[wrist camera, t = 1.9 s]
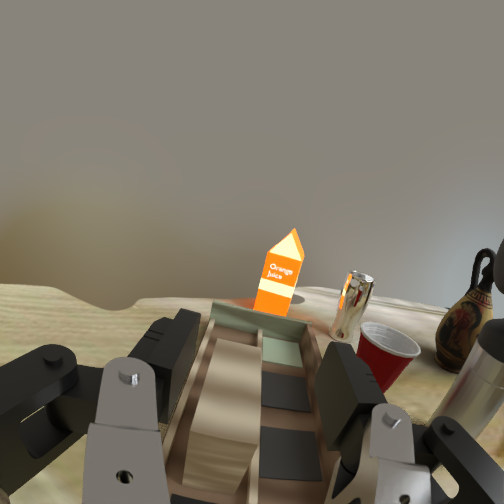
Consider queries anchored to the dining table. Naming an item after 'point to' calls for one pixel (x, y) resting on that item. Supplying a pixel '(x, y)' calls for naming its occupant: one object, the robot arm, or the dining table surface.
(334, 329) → the beer glass
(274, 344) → the pad
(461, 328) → the ceramic jug
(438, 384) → the dining table surface
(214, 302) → the board
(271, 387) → the pads
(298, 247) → the orange juice
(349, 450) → the robot arm
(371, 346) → the plastic cup
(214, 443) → the beech block
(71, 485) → the dining table surface
